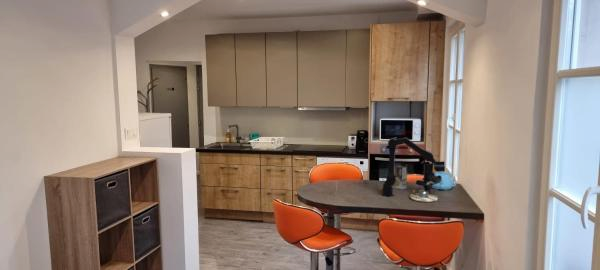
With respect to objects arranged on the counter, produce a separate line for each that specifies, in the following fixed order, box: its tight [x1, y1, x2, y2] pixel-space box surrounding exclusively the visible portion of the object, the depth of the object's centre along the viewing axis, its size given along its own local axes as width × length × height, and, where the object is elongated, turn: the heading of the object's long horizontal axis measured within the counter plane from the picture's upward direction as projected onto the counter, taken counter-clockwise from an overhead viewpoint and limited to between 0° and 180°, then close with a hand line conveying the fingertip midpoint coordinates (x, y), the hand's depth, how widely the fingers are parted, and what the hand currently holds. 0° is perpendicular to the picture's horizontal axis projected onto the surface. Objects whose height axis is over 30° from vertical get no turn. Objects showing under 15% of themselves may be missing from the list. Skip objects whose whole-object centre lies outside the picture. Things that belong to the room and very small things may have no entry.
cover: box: [418, 189, 428, 198], centre depth 265 cm, size 6×6×4 cm
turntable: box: [409, 189, 439, 203], centre depth 266 cm, size 18×18×4 cm
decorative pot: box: [431, 171, 457, 191], centre depth 295 cm, size 16×16×14 cm
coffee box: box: [392, 165, 408, 190], centre depth 297 cm, size 9×6×16 cm
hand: (427, 193), depth 268 cm, fingers closed
